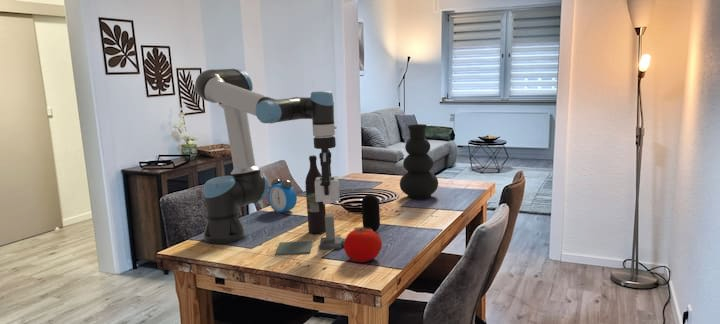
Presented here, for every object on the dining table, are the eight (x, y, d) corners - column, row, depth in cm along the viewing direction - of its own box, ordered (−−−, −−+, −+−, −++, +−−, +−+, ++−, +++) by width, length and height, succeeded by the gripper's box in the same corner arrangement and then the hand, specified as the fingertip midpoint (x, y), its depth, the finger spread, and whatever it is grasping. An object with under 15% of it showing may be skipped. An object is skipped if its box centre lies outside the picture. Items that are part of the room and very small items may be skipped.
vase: (444, 194, 248) (442, 123, 242) (428, 203, 233) (426, 127, 227) (410, 191, 258) (408, 123, 252) (393, 200, 243) (390, 127, 237)
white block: (315, 201, 174) (314, 181, 173) (317, 196, 182) (316, 177, 181) (339, 200, 174) (337, 180, 173) (339, 195, 182) (338, 176, 181)
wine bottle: (306, 230, 201) (301, 155, 196) (323, 227, 203) (318, 153, 199) (311, 235, 194) (306, 158, 189) (329, 232, 197) (324, 156, 192)
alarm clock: (268, 211, 234) (265, 179, 231) (278, 208, 239) (275, 177, 236) (288, 214, 226) (286, 181, 223) (298, 211, 231) (296, 179, 228)
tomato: (350, 253, 173) (349, 223, 171) (385, 254, 169) (384, 224, 167) (340, 265, 162) (338, 233, 160) (377, 267, 158) (375, 234, 157)
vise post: (320, 249, 177) (318, 219, 175) (321, 242, 185) (319, 213, 183) (373, 247, 177) (372, 216, 175) (372, 239, 185) (371, 210, 183)
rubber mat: (275, 255, 174) (274, 253, 174) (279, 244, 186) (279, 242, 186) (309, 253, 174) (309, 251, 174) (312, 242, 186) (312, 240, 186)
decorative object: (378, 229, 198) (376, 191, 195) (382, 234, 191) (380, 195, 189) (361, 230, 197) (359, 193, 194) (364, 235, 190) (362, 196, 188)
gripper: (334, 139, 164) (337, 207, 168) (336, 132, 185) (339, 193, 189) (310, 140, 164) (315, 208, 168) (315, 133, 185) (319, 194, 189)
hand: (328, 200), depth 179 cm, fingers closed on white block, 8 cm apart
